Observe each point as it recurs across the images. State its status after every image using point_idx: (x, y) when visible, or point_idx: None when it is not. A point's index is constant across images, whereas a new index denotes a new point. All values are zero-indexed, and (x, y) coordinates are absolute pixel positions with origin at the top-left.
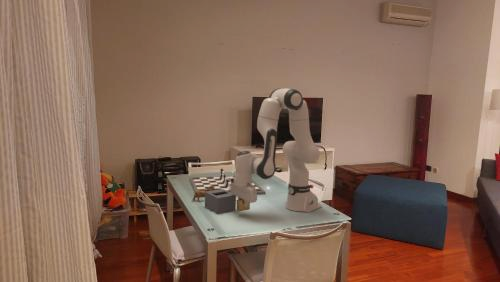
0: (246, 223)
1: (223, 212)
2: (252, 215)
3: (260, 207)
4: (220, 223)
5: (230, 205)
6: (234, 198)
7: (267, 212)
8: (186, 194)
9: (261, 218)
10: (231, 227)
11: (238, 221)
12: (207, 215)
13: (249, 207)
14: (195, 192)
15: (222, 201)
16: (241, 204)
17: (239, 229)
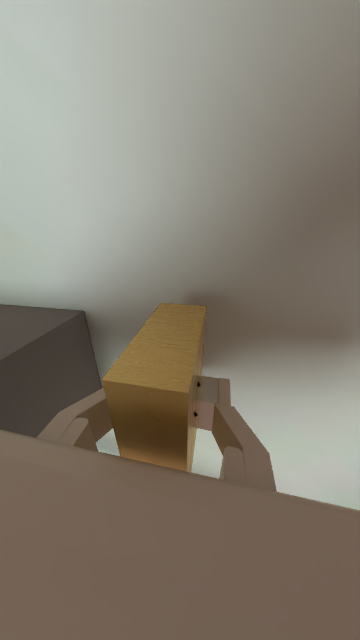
0: (321, 404)
1: (99, 387)
2: (233, 277)
3: (77, 6)
4: (220, 469)
5: (64, 372)
6: (1, 379)
7: (273, 36)
8: None
9: (349, 257)
10: (297, 474)
11: (258, 412)
12: (107, 444)
13: (204, 318)
14: None
15: None
16: (193, 440)
17: (352, 472)
